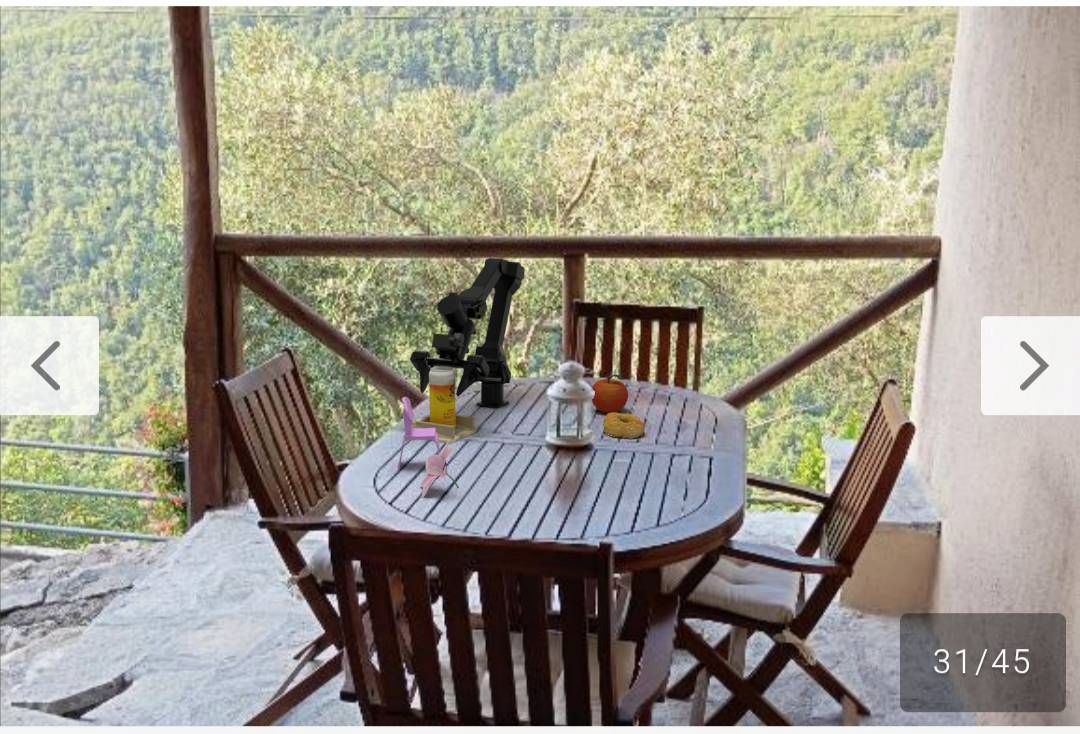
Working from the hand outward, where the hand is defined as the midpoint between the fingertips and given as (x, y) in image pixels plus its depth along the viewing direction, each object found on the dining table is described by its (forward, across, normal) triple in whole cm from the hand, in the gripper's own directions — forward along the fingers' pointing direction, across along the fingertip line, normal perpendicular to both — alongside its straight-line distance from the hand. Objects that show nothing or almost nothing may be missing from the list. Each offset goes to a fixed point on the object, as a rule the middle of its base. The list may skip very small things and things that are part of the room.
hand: (439, 393), depth 251 cm
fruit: (-18, +31, +32) cm, 48 cm away
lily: (+33, +17, -18) cm, 41 cm away
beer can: (+6, 0, +8) cm, 10 cm away
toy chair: (+23, +6, -9) cm, 26 cm away
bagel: (-5, +40, +20) cm, 45 cm away
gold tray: (+6, 0, +8) cm, 10 cm away
